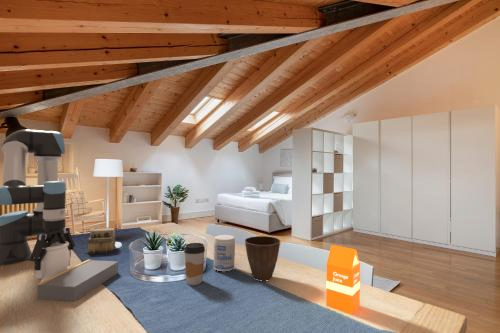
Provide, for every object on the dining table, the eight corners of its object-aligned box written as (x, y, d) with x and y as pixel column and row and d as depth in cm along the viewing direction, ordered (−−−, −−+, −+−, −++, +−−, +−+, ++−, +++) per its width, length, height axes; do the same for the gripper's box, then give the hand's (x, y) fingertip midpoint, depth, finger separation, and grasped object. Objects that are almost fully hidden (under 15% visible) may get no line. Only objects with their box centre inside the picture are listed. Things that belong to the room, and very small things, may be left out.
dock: (88, 271, 124) (88, 259, 124) (118, 272, 123) (118, 260, 123) (37, 298, 98) (37, 283, 98) (74, 301, 97) (74, 285, 97)
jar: (52, 287, 108) (52, 248, 108) (30, 285, 110) (30, 246, 110) (74, 276, 118) (75, 241, 118) (54, 274, 120) (54, 239, 120)
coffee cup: (208, 280, 116) (209, 244, 116) (196, 288, 108) (197, 249, 108) (192, 276, 119) (192, 241, 119) (179, 284, 112) (179, 246, 112)
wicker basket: (89, 247, 160) (89, 227, 160) (116, 245, 165) (116, 226, 165) (82, 255, 146) (82, 233, 146) (112, 253, 150) (112, 232, 150)
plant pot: (238, 280, 115) (238, 242, 115) (254, 269, 129) (254, 234, 129) (271, 288, 108) (271, 247, 108) (284, 275, 122) (285, 238, 122)
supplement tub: (216, 274, 122) (217, 240, 122) (211, 267, 131) (211, 235, 131) (237, 271, 126) (237, 238, 126) (230, 264, 135) (231, 233, 135)
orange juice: (335, 297, 101) (335, 242, 101) (360, 305, 96) (360, 247, 96) (325, 305, 95) (326, 247, 95) (351, 314, 90) (352, 252, 90)
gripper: (36, 225, 101) (35, 284, 101) (84, 214, 126) (83, 261, 126) (17, 225, 102) (16, 283, 102) (69, 213, 127) (68, 260, 127)
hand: (53, 271), depth 114 cm, fingers open, 13 cm apart
